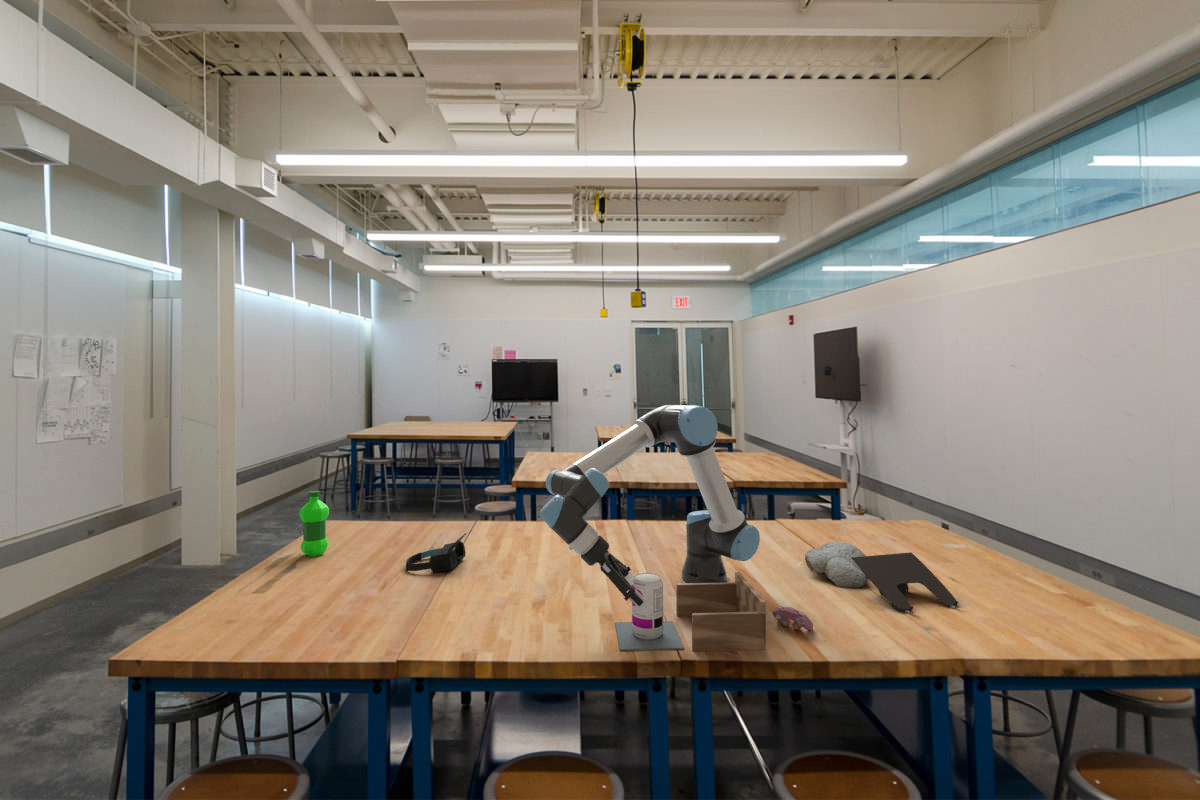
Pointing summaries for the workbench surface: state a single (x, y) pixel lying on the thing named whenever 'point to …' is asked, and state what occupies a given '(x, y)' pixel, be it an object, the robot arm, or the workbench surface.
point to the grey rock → (837, 563)
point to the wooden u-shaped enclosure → (723, 615)
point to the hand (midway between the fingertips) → (646, 601)
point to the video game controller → (792, 618)
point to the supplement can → (653, 593)
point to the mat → (664, 642)
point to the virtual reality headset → (438, 558)
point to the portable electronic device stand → (901, 578)
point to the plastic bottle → (314, 525)
